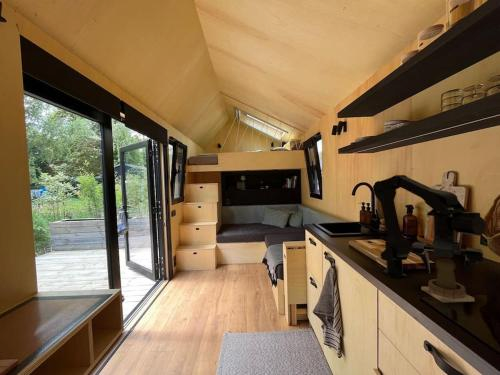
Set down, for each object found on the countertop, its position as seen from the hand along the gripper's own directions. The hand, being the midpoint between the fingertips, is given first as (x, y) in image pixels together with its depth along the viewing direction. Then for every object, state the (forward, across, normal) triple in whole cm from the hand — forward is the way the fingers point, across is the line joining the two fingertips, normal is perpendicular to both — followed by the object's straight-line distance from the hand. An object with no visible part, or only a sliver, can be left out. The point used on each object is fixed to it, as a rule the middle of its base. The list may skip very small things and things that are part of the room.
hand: (445, 276), depth 84 cm
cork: (+6, 0, 0) cm, 6 cm away
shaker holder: (+6, 0, 0) cm, 6 cm away
